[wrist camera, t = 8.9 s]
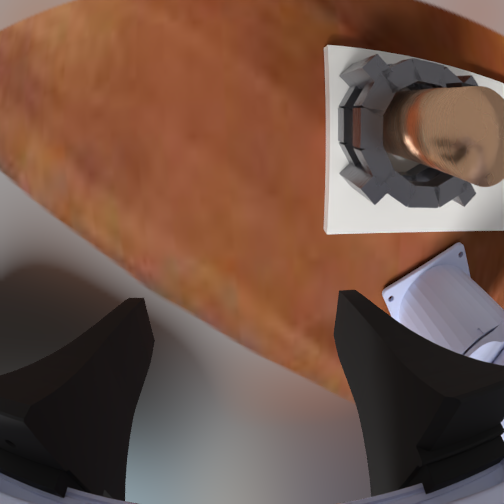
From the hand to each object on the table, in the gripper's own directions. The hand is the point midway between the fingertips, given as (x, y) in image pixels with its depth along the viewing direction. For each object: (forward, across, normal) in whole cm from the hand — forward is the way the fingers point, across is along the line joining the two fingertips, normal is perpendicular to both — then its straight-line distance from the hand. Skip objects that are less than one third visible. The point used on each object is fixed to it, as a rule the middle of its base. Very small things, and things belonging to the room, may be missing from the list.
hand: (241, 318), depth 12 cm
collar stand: (+10, -10, -6) cm, 16 cm away
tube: (+9, -10, -7) cm, 15 cm away
